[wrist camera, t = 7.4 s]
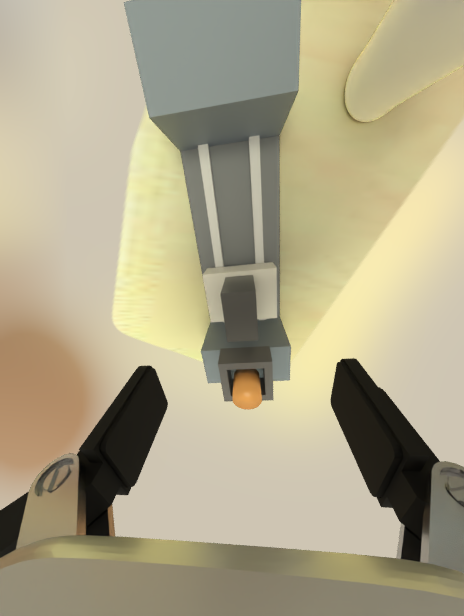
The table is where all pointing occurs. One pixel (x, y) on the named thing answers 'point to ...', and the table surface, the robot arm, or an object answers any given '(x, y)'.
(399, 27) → the drinking glass
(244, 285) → the carriage
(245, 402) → the button
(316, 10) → the table surface
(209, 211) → the rail track
